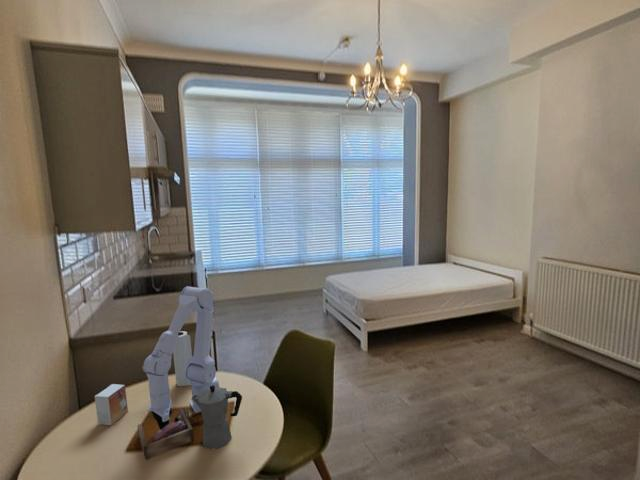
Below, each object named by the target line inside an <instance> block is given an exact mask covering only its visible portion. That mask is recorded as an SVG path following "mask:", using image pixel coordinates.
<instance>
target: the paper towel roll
mask: <svg viewBox="0 0 640 480" xmlns="http://www.w3.org/2000/svg"><path fill="white" fill-rule="evenodd" d="M178 336H179V341H178V343H177V345H176V347H175V349H174V351H173V353H172V355H173V356H172V357H173V364H174V373H175V374H174V375H175V381H176V382H175V383H176V385H177V386H178V387H185V386H186V387H187V386H191V383H189V379H187V378H186V376H185V371H186V368H187V365H188V360H189V359H190V358H192V357H193V352H192V341H191V335H190V334H189V335H188V331H185V330H184V331H182V330H180V331H179V333H178Z"/></svg>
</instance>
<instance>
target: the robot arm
mask: <svg viewBox="0 0 640 480" xmlns="http://www.w3.org/2000/svg"><path fill="white" fill-rule="evenodd" d="M214 295H215V294H214V293H213V291H212V290H211V289H210V288H207V287H202V288H201V287H194V286H190V285H187V286H185V287H183V289H182V290H181V292H180V295H179V297H178V306H177V309H176V311H175V314H174V316H173V318H172V320H171V323H170V325H169V327H168V330H166V331H164V332H162V333H161V335H160V336H159V337H158V341H157V343H156V345H155V347H154V349H153V350H152V352H151V354H150V355H148V356H147V357H146V358H145V360H144V361H143V365H142V366H141V368H142V371H143V372H144V373H146V377H147V380H148V389H149V390H148V391H149V396H150V405H149V406H147V408H146V410H147V412H151V414H152V417H153V419H154V420H155V421H156V423H157V425H158V428H159V430H161V429H162V428H164V427H165V426H166V425H167V424H170V420H171V415H172V414H173V409H172V402H173V401H172V400H171V390H170V382H169V371H170V369H171V367H172V359H173V356H172V355H173V351H174V349H175V347H176V345H177V343H178V341H179V336H178V333H179V332H180V331H182V328H183V326H184V324H185V323H186V322H187V320H188V318H189V316H190V314H191V313H194V312H196V315H197V317H196V323H195V325H196V327H195V337H194V348H193V355H192V358H190V359H189V360H188V365H187V368H186V371H185V376H186V378H187V379H189V383H191V384H190V388H191V398H192V397H193V396H195V395H197V394H200V393H202V392H203V391H204V390H207V389H210V386H212V385H214V386H215V387H220V384H219V381H218V378H217V377H216V373H217V371H216V366H215V365H216V364H215V363H216V362H215V360H214V359H213V358H212V357H211V356H210V352H211V351H210V349H211V341H212V327H213V318H214V317H213V316H214V298H215V297H214ZM189 404H190V406H191V408H192V409H193V410H192V411H193V413H195V414H199V413H202V412H201V409H200V407H199V406H198V405H197V404H196V403H195V401H194V400H191V401H189Z"/></svg>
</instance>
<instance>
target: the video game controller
mask: <svg viewBox="0 0 640 480" xmlns="http://www.w3.org/2000/svg"><path fill="white" fill-rule="evenodd" d="M185 428H186V425H185V423H184V422H183V421H181V419H179V420H178V421H175V422H169V424H167V425H166V426H165V427H164V428H162V429H161V430H160V429H159V430H158V431H156V432H154V435H153V436H151V439H150V440H151V443H153V442H155V441H158V440H161V439H163V438H166V437H168V436H171V435H173V434H176V433H178V432H181V431H183V430H185Z"/></svg>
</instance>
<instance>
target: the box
mask: <svg viewBox="0 0 640 480" xmlns="http://www.w3.org/2000/svg"><path fill="white" fill-rule="evenodd" d="M179 415H180V421H181V420H182V421H183V422H184V423H185V425H186V428H185V430H183V431H181V432H178V433H176V434H173V435H171V434H170V435H168V437H166V438H163V439H161V440H158V441H155V442H153V443H152V442H151V443H148V444H147V441H146V436H145V434H144V429H143V426H142V424H141V423H139V424H137V432H138V437H139V442H140V445H141V450H142V454H143V458H144V461H148V460H150V459H152V458H155V457H157V456H159V455H162V454H164V453H167V452H169V451H172V450H174V449H177V448H179V447H181V446H183V445H186V444H189V443H191V442H194V441H195V438H194V428H193V426H192V425H191V423H190V420H189V419H188V416H187V414H186V412H185V410H184V408H180V409H179ZM193 440H194V441H193Z"/></svg>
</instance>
